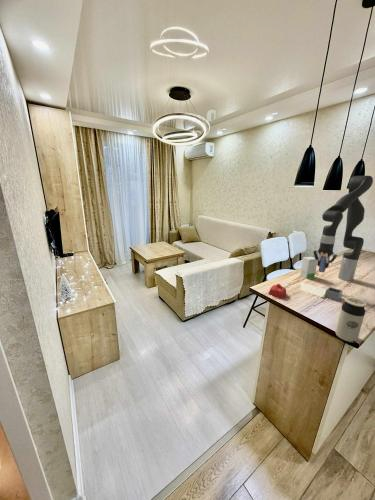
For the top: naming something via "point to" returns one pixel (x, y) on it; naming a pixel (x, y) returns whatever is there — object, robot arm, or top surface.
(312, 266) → the skincare box
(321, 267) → the marker
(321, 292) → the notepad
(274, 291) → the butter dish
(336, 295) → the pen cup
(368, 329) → the top surface
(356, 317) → the travel mug
